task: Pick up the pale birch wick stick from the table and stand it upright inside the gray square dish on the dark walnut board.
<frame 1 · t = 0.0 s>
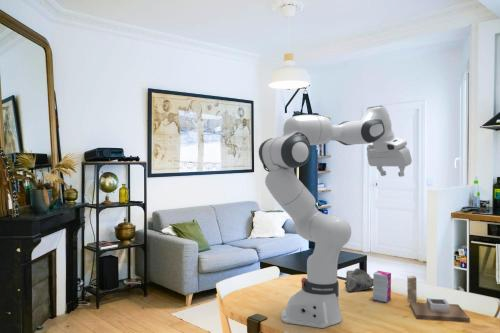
hand: (392, 175, 170), 52 cm above the table, tool tilted 20°, fingers open, 8 cm apart
gray square dish: (437, 309, 156), resting on walnut board
supplement box: (382, 300, 172), on the table
walnut board: (437, 313, 156), on the table
mineral rock: (360, 290, 185), on the table
birch wick stick: (412, 300, 170), on the table
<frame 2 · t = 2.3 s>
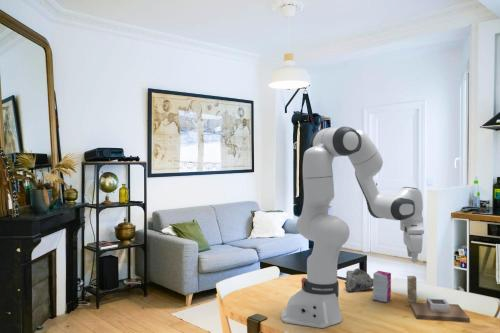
hand: (412, 259, 170), 17 cm above the table, tool pointing down, fingers open, 8 cm apart
nothing on the table moved.
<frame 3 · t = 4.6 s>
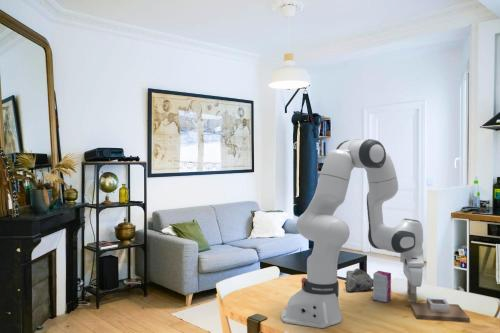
hand: (411, 291, 170), 4 cm above the table, tool pointing down, fingers closed on birch wick stick, 3 cm apart
birch wick stick: (412, 300, 170), on the table, touching gripper
everything else where it was.
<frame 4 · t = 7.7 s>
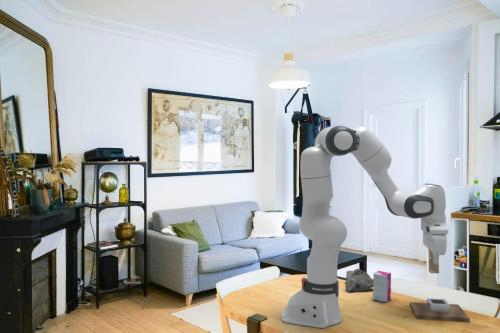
hand: (433, 261, 158), 19 cm above the table, tool pointing down, fingers closed on birch wick stick, 3 cm apart
birch wick stick: (433, 272, 158), point 15 cm above the table, touching gripper
everything else where it was.
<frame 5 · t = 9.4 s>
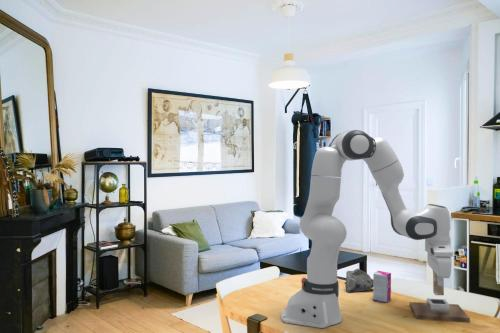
hand: (438, 283, 156), 12 cm above the table, tool pointing down, fingers closed on birch wick stick, 3 cm apart
birch wick stick: (438, 293, 156), point 7 cm above the table, touching gripper
everything else where it was.
when the fingers open (7 cm above the table, at t = 11.0 s): birch wick stick stays where it is, resting on walnut board.
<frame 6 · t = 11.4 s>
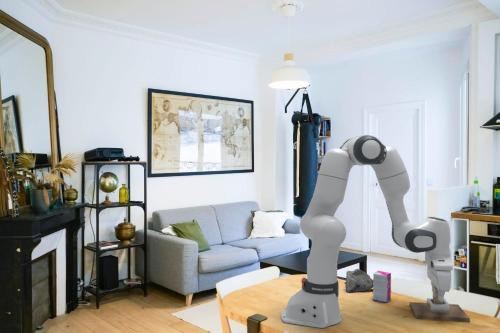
hand: (437, 296, 156), 7 cm above the table, tool pointing down, fingers open, 7 cm apart
birch wick stick: (437, 309, 156), point 1 cm above the table, touching walnut board
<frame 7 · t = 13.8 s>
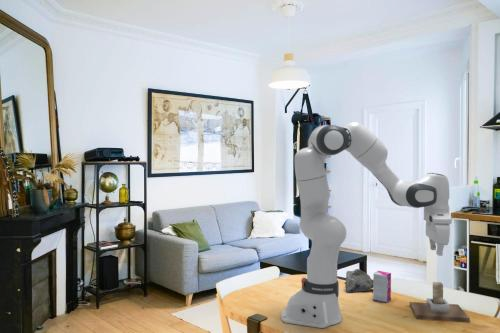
hand: (436, 252, 155), 23 cm above the table, tool pointing down, fingers open, 8 cm apart
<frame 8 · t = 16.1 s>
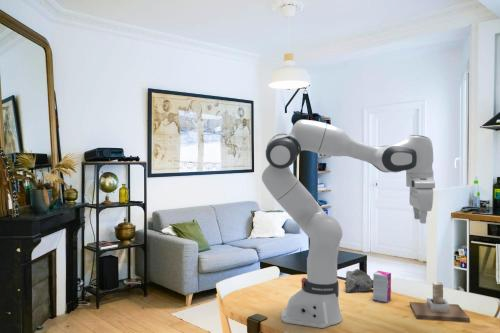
hand: (419, 221, 144), 37 cm above the table, tool pointing down, fingers open, 8 cm apart
at the end: birch wick stick 0.0 cm off-centre on the gray square dish, point 0.0 cm above the gray square dish's base; birch wick stick tilted 0°; the gripper is holding nothing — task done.
